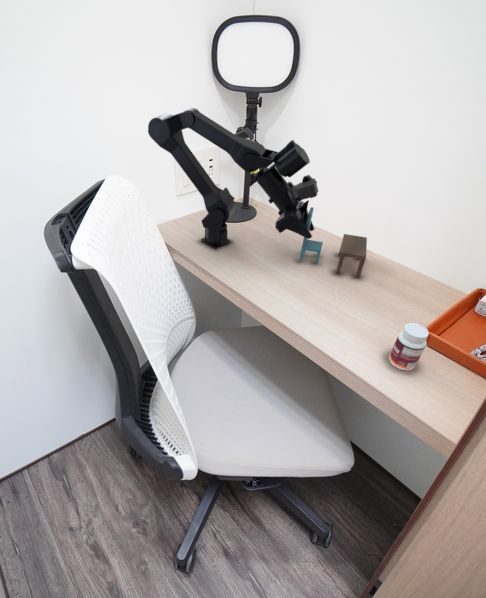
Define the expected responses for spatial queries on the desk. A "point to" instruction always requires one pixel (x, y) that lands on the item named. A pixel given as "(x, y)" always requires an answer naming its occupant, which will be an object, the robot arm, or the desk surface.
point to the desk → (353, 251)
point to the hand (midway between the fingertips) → (311, 233)
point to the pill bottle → (409, 346)
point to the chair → (311, 241)
